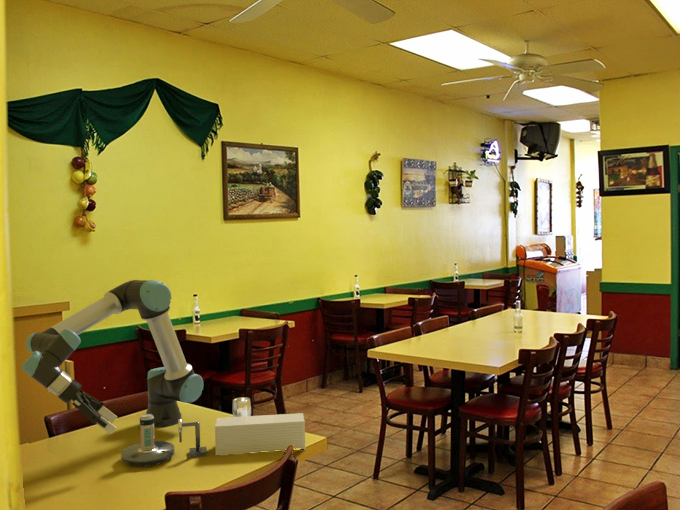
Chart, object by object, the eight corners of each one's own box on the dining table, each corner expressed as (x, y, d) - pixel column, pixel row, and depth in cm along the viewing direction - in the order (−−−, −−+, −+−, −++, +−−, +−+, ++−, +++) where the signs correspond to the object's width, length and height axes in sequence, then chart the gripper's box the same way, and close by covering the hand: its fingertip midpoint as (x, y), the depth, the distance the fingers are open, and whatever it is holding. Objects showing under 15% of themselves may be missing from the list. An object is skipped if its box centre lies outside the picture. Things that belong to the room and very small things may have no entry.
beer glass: (250, 440, 241) (249, 401, 240) (232, 440, 241) (230, 401, 240) (253, 434, 248) (252, 396, 247) (235, 435, 248) (234, 397, 247)
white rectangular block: (303, 441, 239) (302, 413, 239) (305, 450, 229) (304, 421, 228) (217, 446, 236) (217, 417, 235) (215, 456, 225) (214, 426, 225)
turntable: (109, 460, 218) (109, 454, 218) (144, 444, 235) (144, 438, 234) (152, 466, 211) (152, 460, 211) (184, 449, 228) (184, 443, 228)
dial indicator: (179, 453, 228) (178, 417, 228) (206, 450, 231) (205, 414, 230) (179, 458, 222) (178, 421, 222) (207, 455, 225) (206, 419, 224)
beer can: (149, 446, 226) (148, 412, 226) (157, 448, 223) (156, 414, 223) (138, 449, 222) (136, 415, 222) (145, 452, 219) (144, 418, 219)
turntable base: (118, 463, 219) (118, 460, 219) (145, 450, 232) (145, 447, 232) (151, 468, 214) (151, 464, 214) (177, 454, 227) (176, 451, 227)
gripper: (60, 387, 225) (107, 423, 230) (52, 405, 201) (105, 445, 206) (76, 371, 226) (122, 407, 231) (69, 387, 202) (121, 427, 208)
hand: (114, 425), depth 219 cm, fingers open, 13 cm apart
